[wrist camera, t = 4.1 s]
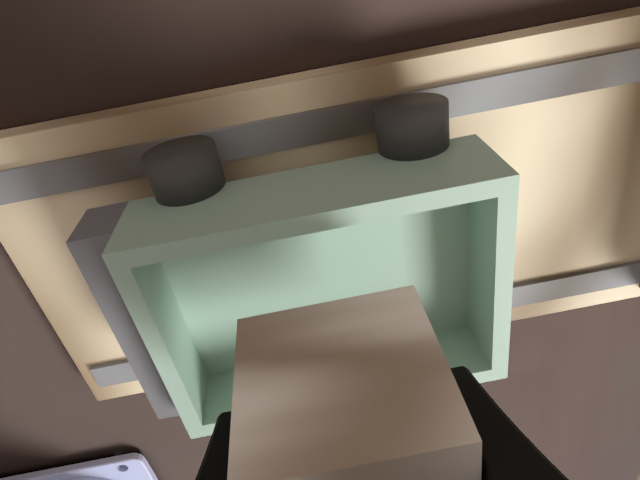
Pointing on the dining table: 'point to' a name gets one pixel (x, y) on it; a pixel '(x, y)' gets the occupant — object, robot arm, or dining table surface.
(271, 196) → the cart
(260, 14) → the dining table surface
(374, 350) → the block
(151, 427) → the dining table surface
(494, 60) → the track board
